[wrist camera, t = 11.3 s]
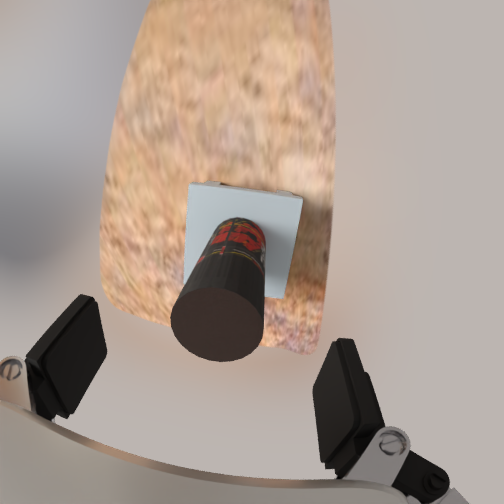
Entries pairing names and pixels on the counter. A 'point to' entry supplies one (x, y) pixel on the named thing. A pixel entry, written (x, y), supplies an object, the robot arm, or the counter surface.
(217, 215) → the pale blue square tabletop
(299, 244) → the counter surface
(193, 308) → the deodorant
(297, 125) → the counter surface
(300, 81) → the counter surface
